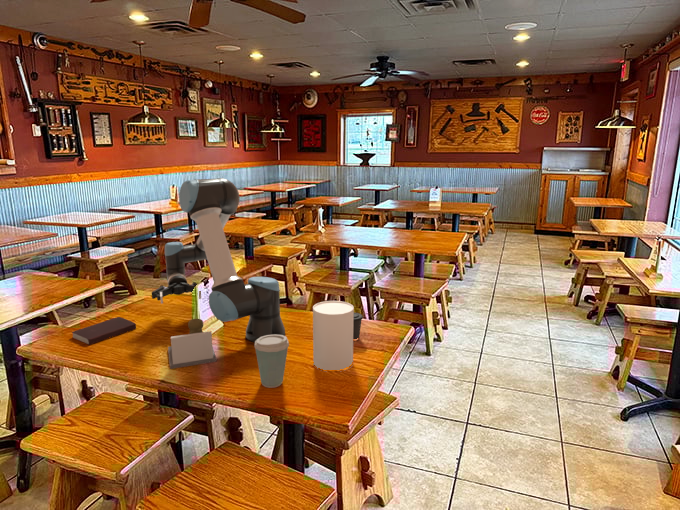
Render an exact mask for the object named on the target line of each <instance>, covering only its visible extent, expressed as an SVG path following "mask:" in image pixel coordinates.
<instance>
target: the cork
mask: <svg viewBox="0 0 680 510" xmlns="http://www.w3.org/2000/svg"><path fill="white" fill-rule="evenodd" d="M187 327H188V329H189V333H188V334H194V333H201V332H203V327H204V321H203V320H202V319H201V318H193V319H189V321H188V323H187Z"/></svg>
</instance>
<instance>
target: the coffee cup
mask: <svg viewBox="0 0 680 510" xmlns="http://www.w3.org/2000/svg"><path fill="white" fill-rule="evenodd" d="M362 319H364V317H363V315H362V314H361V313H359V312H354V318H353V339H357V338H359V339H360V333H361V327H362V326H361V325H362Z"/></svg>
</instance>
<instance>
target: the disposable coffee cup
mask: <svg viewBox="0 0 680 510" xmlns="http://www.w3.org/2000/svg"><path fill="white" fill-rule="evenodd" d="M289 346H290V343H289V339H288V337H287V336H286V335H285V336H283V335H276V334H274V335H266V336H262V337H260V338H258V339H257V340H256V341H255V342H254V349H255V354H256V360H257V365H258V370H259V371H258V372H259V376H260V377H259V378H260V382H261V384H262V385H261V386H263V387H265V388H270V389H271V388H277V387H280V386H281V385H282V384H283V382H284V378H285V377H284V375H285V369H286V362H287V357H288V356H287V355H288V350H289V349H288V348H289Z"/></svg>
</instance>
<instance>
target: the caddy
mask: <svg viewBox="0 0 680 510" xmlns="http://www.w3.org/2000/svg"><path fill="white" fill-rule="evenodd" d="M212 333H213V332H212V330H209V331H202V332H201V333H194V334H189V333H188V334H180V335H174V336H173V335H172V336H170V344H171V346H168V347H167V349H168V350H167V352H168V360H169V368H170V370H172V369H178V368H184V367H189V366H196V365H203V364H209V363H215V362H216V363H217V356H216V353H215V349H214V346H213V335H212Z"/></svg>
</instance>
